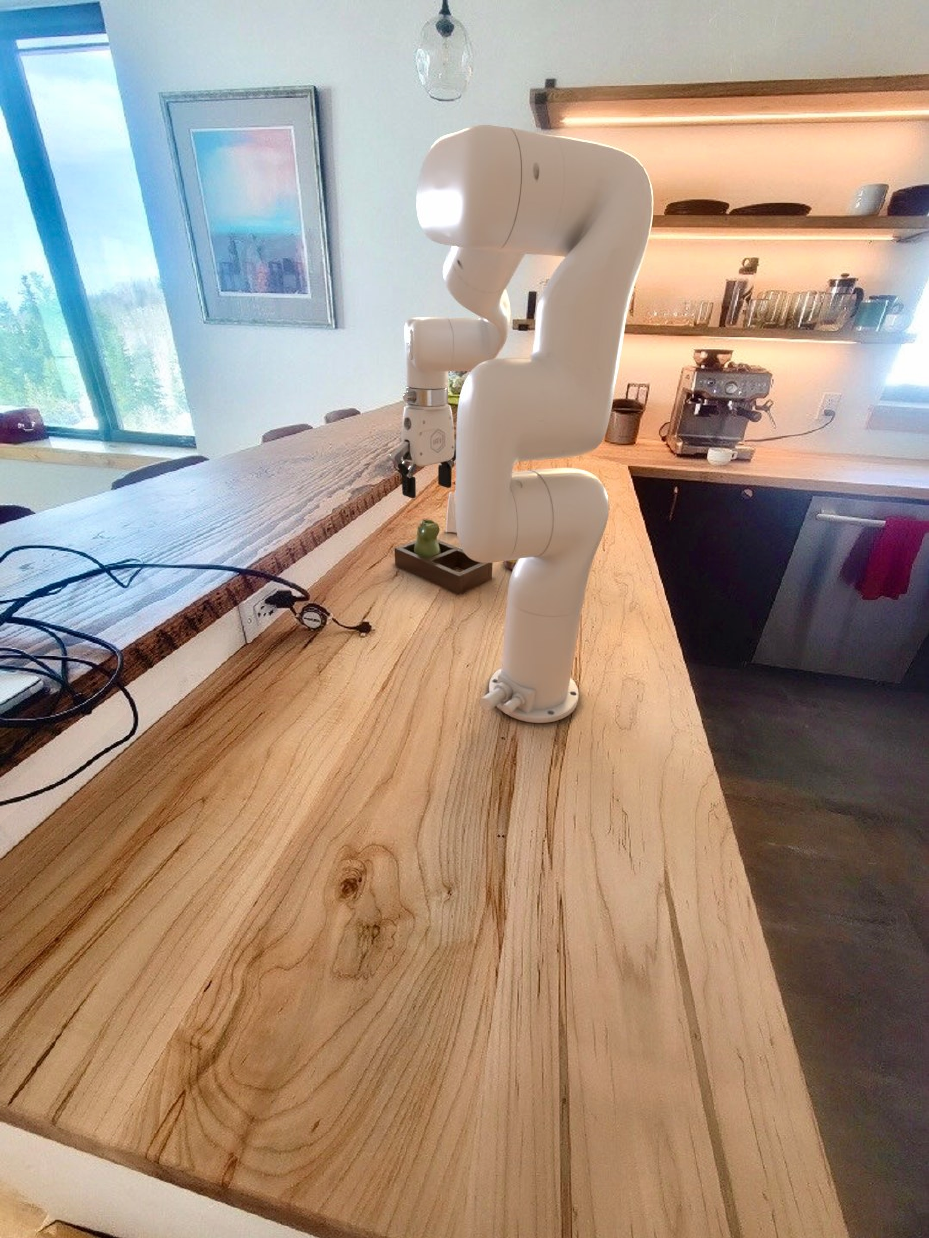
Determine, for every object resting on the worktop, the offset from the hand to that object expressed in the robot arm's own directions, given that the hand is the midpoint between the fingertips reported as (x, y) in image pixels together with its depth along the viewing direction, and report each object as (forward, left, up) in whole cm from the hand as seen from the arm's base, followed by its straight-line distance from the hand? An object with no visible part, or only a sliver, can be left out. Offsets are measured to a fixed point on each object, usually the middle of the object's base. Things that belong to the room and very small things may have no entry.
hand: (427, 491), depth 99 cm
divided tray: (0, -5, -16) cm, 17 cm away
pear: (0, 0, -16) cm, 16 cm away
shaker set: (+21, +6, -16) cm, 27 cm away
